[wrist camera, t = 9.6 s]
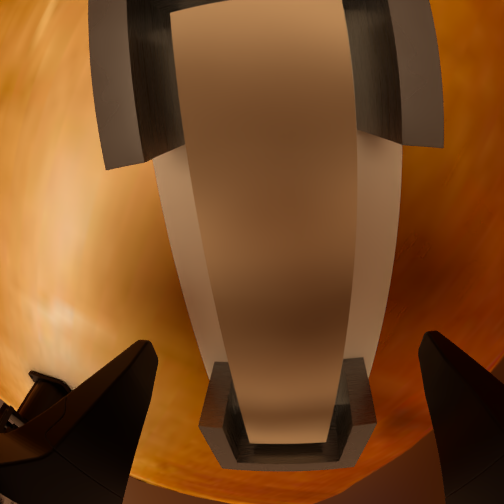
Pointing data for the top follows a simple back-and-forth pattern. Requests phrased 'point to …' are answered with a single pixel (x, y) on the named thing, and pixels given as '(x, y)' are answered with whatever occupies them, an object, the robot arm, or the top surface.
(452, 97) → the top surface
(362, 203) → the end-cap board
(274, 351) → the beige rectangular bar
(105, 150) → the end caps
